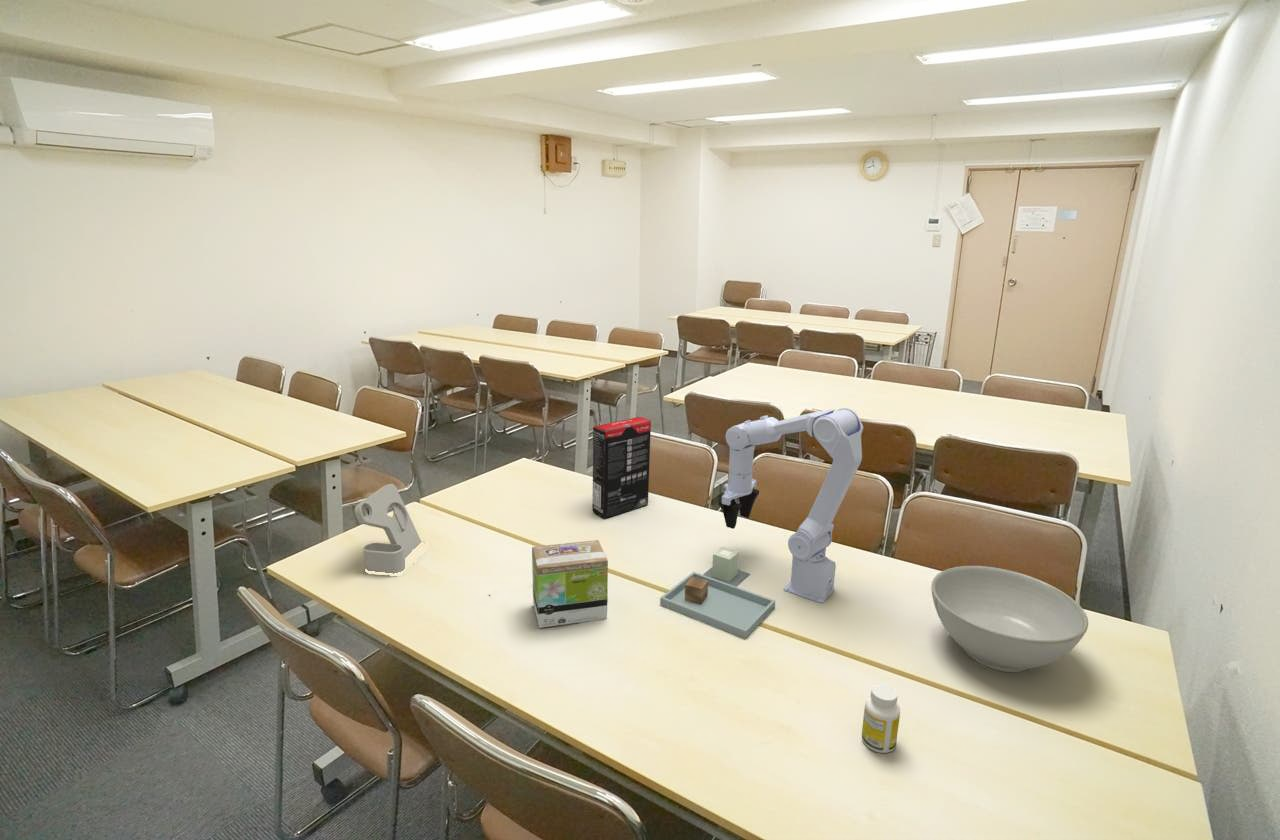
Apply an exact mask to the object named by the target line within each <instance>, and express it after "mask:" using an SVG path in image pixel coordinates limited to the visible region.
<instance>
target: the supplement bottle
mask: <svg viewBox="0 0 1280 840" xmlns="http://www.w3.org/2000/svg"><path fill="white" fill-rule="evenodd" d="M864 703H865V704H864V711H863V718H862V719H863V720H862V726H861V727H862V728H861V739H862V742H863V744H864V745H865V746H866V747H867V748H868V749H870V750H871V751H873V752H877V753H880V754H887V753H890V752H892V751H895V749H896V746H897V740H898V732H899V726H900V724H899V723H900V717H901V708H900V706H899V704H898V692H897V690H896V689H895V688H894V687H892V686H890V685H889V684H885V683H876V684H874V685H872V686H871V689H870V695H869V696H868V697H867V698H866V700H865V702H864Z"/></svg>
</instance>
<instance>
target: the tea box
mask: <svg viewBox="0 0 1280 840" xmlns="http://www.w3.org/2000/svg"><path fill="white" fill-rule="evenodd" d="M531 560H532V561H531V563H532V564H531V566H532V567H531V569H532V571H531V572H532V604H533V608H534V611H535V616H536V620H538V621H537V625H539V626H538V629H544V628H548V627H555V626H564V625H571V624H578V623H586V621H587V622H593V621H595V620H596V621H601V620H607V619H608V603H609V602H608V600H609V598H608V589H609V588H608V579H609V575H608V574H609V568H608V567H609V566H608V564H609V562H608V558H607V556H606V554H605V552H604V549H603V547H602V545H601V542H600V541H599V539H595V540H594V539H593V540H585V541H575V542H566V543H557V544H548V545H538V546H532V547H531Z"/></svg>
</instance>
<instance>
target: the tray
mask: <svg viewBox="0 0 1280 840" xmlns="http://www.w3.org/2000/svg"><path fill="white" fill-rule="evenodd" d="M691 577H696V578H700V579H704V580H708V596H707V598H706V599H705V600H704V602H703V603H702V605H700V604H696V603H693V602H689V601H685V584H686V583H687V582H688V581H689V579H690V578H691ZM659 600H660V601H659V606H661V607H664V608H666V609H669V610H672V611H674V612H677V613H679V614H682V615H684V616H687V617H689V618H692V619H694V620H696V621H699V622H702V623H704V624H706V625H709V626H711V627H715V628H716V629H719V630H722V631H724V632H727V633H730V634H731V635H734V636H737V637H739V638H741V639H745V640H747V639H748V637H750V635H751V634H752V633H753V632H754V631H755V630H756V628H757V627H759V626H760V625H761V624H762V622H763V621H764V620H766V618H767V617H768V616H769V615H770V614H772V611H774V610H775V609H776V600H775V599H772V598H768V597H767V596H763V595H761V594H758V593H755V592H752V591H749V590H746V589H744V588H741V587H738V586H737V587H735V586H733V585H730V584H727V583H724V582H721V581H718V580H716V579H713V578H710V577H707V576H704V575H703V574H701V573H698V572H695V571H693V572H691V573H690V574H688V575H687V576H686V577H685V578H683V580H681V581H680V582H678V583H677V584H676V585H675V586H673V587H672V588H671V589H670V590H668V591H666V592H665V593H664V594H663V595H662V596H661V597H659Z"/></svg>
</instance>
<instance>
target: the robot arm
mask: <svg viewBox="0 0 1280 840" xmlns="http://www.w3.org/2000/svg"><path fill="white" fill-rule="evenodd" d="M863 431H864V425H863V422H861V419H860V417H859V415H858V414H857V412H855V411H854V410H853V409H852V408H848V407H843V408H839V409H838V410H836V409H825V410H824V409H823V410H820V411H819V410H818V411H814V412H809V413H806V414H802V415H797V416H794V417H790V418H786V419H783V420H778V419H777V418H775V417H773V416H770V417H769V415H762V416H760V417H759V419H757V420H750V419H747V420H746V421H744V422H743V423H739V424H736V425H733V426H731V427H730V428H728V429H727V430H726V432H725V440H726V444H727V446H729V458H728V461H729V462H728V482H726V483H725V484H723V488H724V489H726V490H725V492H724V494H723V495H722V496H721V498H720V499H718V506H719V507H720V509H721V511H722V513H723V518H724V523H725V525H726V528H729V529H735V528H736V526H737V523H738V522H737V521H738V515H739V514H740V517H742V518H746V519H749V518H750V515H751V512H752V508H753V507H754V503H755V501H756V499H757V497H758V496H759V495H760V490H759V489H755V488H757V479H754V478H753V470H754V469H753V468H754V467H753V466H754V451H755V448H756V447H755V446H758V445H759V446H760V445H764V444H765V445H766V444H769V443H774V442H778V441H779V440H780V439H781V437H782V435H787V434H794V433H799V432H807V434H808V436H810V437H814V438H815V439H816V440H817V442H818V443H819V444H820V445H821V446H822V449H824V451H826V453H827V454H828V455H829V456H830V458H832V463H831V465H830V468H829V470H828V472H827V474H826V476H825V479H824V481H823V483H822V485H821V487H820V489H819V491H818V494H817V495H816V498H815V500H814V502H813V505H812V507H811V509H810V511H809V514H808V515H807V517H806V518H805V519H804V521H803V522H802V523H801V524H800V525H799V526H798V528H797V530H796V531H795V532H794V533H793V534H792V535H790V536H789V538H788V540H787V544H788V545H787V546H788V550H789V552H790V553H791V554H792V561H791V563H792V564H791V574H790V582H788V583H787V584H786V585H785V586H784V587H783V591H784V592H788V593H791V594H793V595H796V596H799V597H802V598H805V599H808V600H810V601H811V600H812V601H813V602H817V603H820V604H823V603H824V602H826V600H827V598H829V596H830V595H831V594H832V593H833V591H834V590H835V576H836V569H837V568H836V567H837V566H836V565H837V564H836V562H835V561H834V560H832V559H830V558H829V557H827V556H826V553H827V548H828V547H829V546H830V545H831V544H832V542H833V530H834V528H835V525H834V524H833V521H834V519H835V517H836V514H837V512H838V510H839V509H840V506H841V505H842V502H843V500H844V498H845V497H846V494H847V491H848V490H849V488H850V487H851V486H850V485H851V484H852V481H853V479H854V478H855V475H856V473H857V471H858V470H859V469H858V468H859V467H860V465H861V463H862V460H863V449H862V433H863ZM736 499H738V501H739V502H737V501H736Z"/></svg>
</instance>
